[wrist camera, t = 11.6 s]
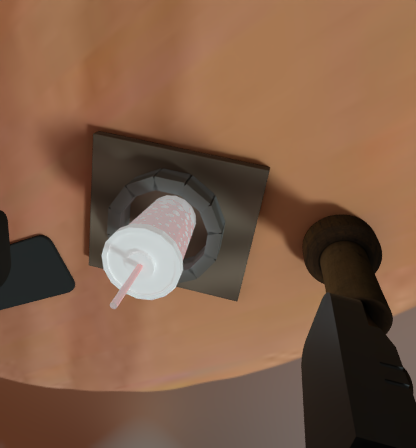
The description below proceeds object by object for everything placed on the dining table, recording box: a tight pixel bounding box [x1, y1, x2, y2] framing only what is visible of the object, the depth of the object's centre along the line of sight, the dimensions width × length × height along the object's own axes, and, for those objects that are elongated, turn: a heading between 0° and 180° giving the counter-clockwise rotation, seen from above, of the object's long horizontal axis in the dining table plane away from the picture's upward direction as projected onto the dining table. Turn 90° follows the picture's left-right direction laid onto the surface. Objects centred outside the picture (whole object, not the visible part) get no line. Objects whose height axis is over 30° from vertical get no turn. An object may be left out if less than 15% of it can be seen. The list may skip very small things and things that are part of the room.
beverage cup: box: [102, 195, 196, 309], centre depth 30 cm, size 6×6×14 cm
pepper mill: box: [303, 215, 413, 393], centre depth 27 cm, size 7×6×18 cm
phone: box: [0, 235, 75, 310], centre depth 44 cm, size 7×1×15 cm
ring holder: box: [89, 131, 270, 301], centre depth 36 cm, size 14×16×4 cm
